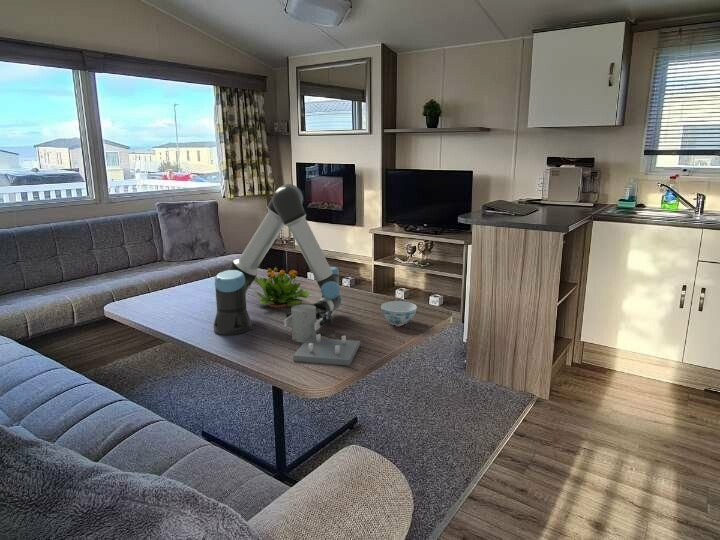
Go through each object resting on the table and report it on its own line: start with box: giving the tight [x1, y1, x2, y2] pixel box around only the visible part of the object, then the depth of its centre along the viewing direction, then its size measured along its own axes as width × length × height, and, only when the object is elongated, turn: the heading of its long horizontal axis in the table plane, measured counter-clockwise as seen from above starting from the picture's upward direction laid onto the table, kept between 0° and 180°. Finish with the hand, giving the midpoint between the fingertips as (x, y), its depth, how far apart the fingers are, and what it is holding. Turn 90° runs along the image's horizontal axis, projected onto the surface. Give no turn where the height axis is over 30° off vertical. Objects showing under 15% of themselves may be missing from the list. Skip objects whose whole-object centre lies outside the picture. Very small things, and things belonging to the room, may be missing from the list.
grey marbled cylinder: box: [290, 303, 317, 343], centre depth 192 cm, size 10×10×12 cm
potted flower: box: [252, 267, 311, 309], centre depth 234 cm, size 25×24×18 cm
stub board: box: [292, 333, 361, 366], centre depth 178 cm, size 20×18×5 cm
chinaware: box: [380, 300, 418, 325], centre depth 209 cm, size 15×15×8 cm
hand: (299, 325), depth 189 cm, fingers open, 12 cm apart
